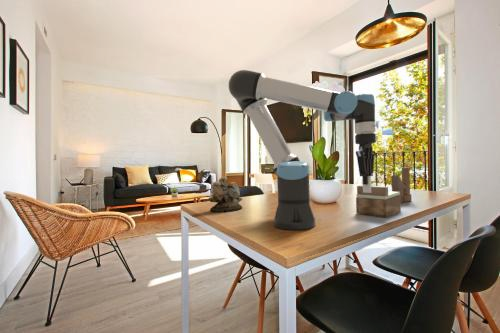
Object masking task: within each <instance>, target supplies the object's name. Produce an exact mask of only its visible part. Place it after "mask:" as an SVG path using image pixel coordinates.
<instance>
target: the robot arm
mask: <svg viewBox="0 0 500 333" xmlns="http://www.w3.org/2000/svg"><path fill="white" fill-rule="evenodd" d="M228 90H229V93H230V95H231V96H232V98H234V99H235V100H236V102H237V104H238V106H239V107H240V109H241V111H242V113H243V114H244V115H247V116H248V117H249V119H250V121H251V122H252V124H253V126H254V128H255V130H256V132H257V134H258V136H259V137H260V139H261V142H263V145H264V147H265V149H266V150H267V153H268V154H269V156H270V159H271V160H272V163H274V164H273V168H272V169H273V172H274V173H275V175H276V179H277V184H276V185H277V207H276V212H275V215H274V218H273V226H274V227H276V228H278V229H283V230H288V231H289V230H291V231H301V230H308V229H312V228H314V227H315V226H316V218H315V216H314V212H313V209H312V206H311V204H310V203H311V201H310V199H311V198H310V168H309V163H307V162H305V161H301V159H300V158H299V157H298V155H296V154H293V153H292V151H291V149H290V148H289V146H288V143H287V142H286V140H285V138H284V136H283V134H282V133H281V131H280V128H279V127H278V125H277V123H276V121H275V119H274V118H273V116H272V114H271V112H270V110H269V108H268V106H267V102H268V100H270V101H275V102H279V103H284V104H289V105H294V106H299V107H303V108H306V109H313V110H316V111H321V112H322V114H323V120H324V122H338V121H339V122H341V121H353V120H354V134H356V135H355V136H354V140H355V142H354V143H355V144H356V145H358V151H357V150H356V151H355V156H356V160H357V166H358V174H359V176H360V177H362V186H363V192H364V193H371V186H372V177H374V168H375V157H376V156H375V155H376V150H373V145H372V144H376V142H377V134H376V133H375V132H376V127H377V123H376V104H375V102H376V101H375V95H373V93H362V94H361V93H360V94H357V95H356V94H355V93H354V92H352V91H350V90H343V91H341V92H338V91H334V90H329V89H324V88H319V87H315V86H309V85H304V84H300V83H297V82H296V83H295V82H291V81H286V80H281V79H276V78H271V77H267V76H265V74H264V73H262V72H258V71H257V72H256V71H252V70H249V69H248V70H247V69H242V70H238V71H236V72H234V73H233V74H232V75H231V76H230V78H229V80H228Z"/></svg>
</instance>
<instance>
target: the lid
mask: <svg viewBox="0 0 500 333" xmlns="http://www.w3.org/2000/svg"><path fill="white" fill-rule="evenodd" d="M397 195H400V192H393V191H392V190H390V191H389V187H388V186H379V185H378V186H376V185H375V186H374V185H373V186H372V185H371V193H364V192H363V185H357V186H356V196H355V198H357V197H360V198H372V199H385V200H386V199H388V198H391V197H394V196H397Z"/></svg>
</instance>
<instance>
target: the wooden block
mask: <svg viewBox="0 0 500 333" xmlns="http://www.w3.org/2000/svg"><path fill="white" fill-rule="evenodd" d="M410 173H411V172H410V167H401V178H400V177H399V176H398V175H391V177H390V178H391V191H393V192H400V203H401V204H402V203H407V202H412V193H411V180H410V176H411V175H410Z"/></svg>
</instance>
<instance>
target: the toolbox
mask: <svg viewBox="0 0 500 333" xmlns="http://www.w3.org/2000/svg"><path fill="white" fill-rule="evenodd" d="M355 202H356V203H355V207H356V209H355V211H356V214H357V215H361V216H362V215H363V216H371V217H379V218H389V217H391V216H392V215H395V214H397V213H400V212H401V211H402V208H401V204H402V203H400V195H397V196H394V197H391V198H388V199H386V200H385V199H372V198H360V197H355Z"/></svg>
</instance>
